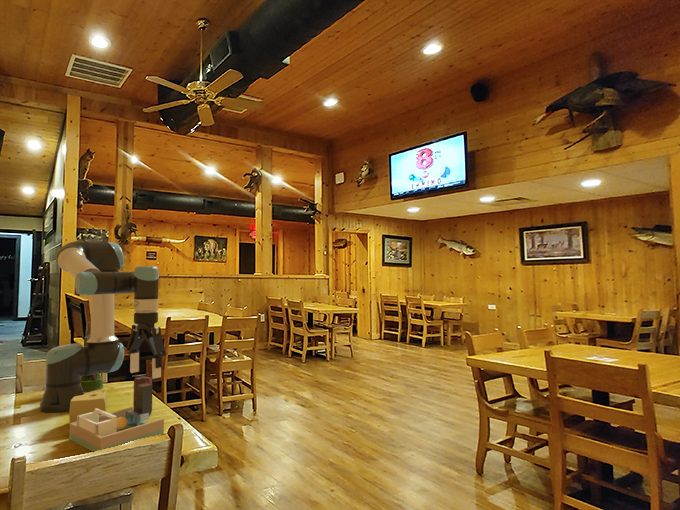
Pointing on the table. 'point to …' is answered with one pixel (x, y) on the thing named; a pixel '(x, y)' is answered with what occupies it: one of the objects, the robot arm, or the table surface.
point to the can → (139, 381)
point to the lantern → (92, 380)
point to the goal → (97, 422)
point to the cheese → (87, 404)
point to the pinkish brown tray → (118, 438)
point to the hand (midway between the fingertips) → (145, 374)
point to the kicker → (141, 405)
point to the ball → (121, 423)
